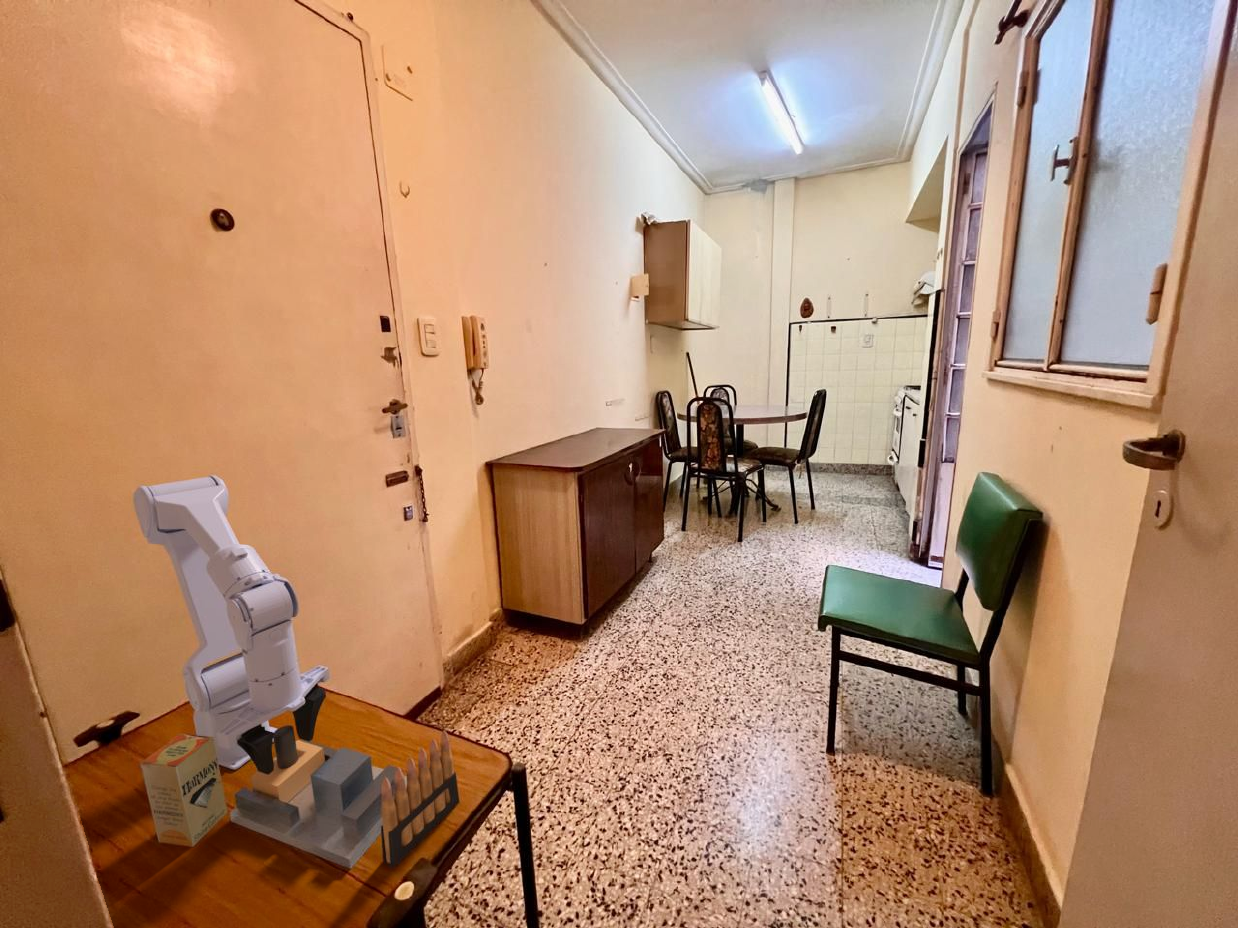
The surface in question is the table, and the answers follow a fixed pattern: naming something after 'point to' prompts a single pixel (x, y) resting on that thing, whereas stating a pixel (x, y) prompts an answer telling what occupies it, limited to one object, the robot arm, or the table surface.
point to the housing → (340, 781)
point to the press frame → (318, 818)
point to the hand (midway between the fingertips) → (286, 753)
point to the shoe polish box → (184, 789)
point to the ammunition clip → (417, 801)
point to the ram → (288, 766)
